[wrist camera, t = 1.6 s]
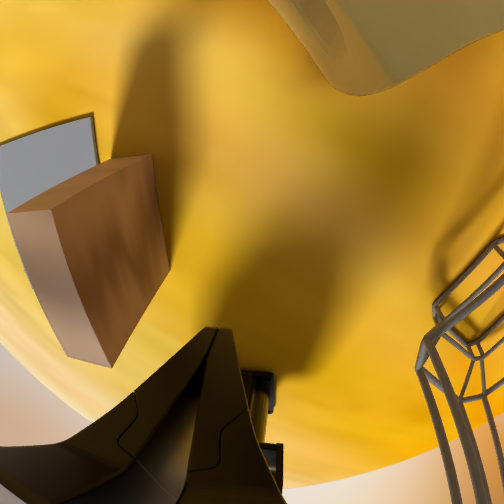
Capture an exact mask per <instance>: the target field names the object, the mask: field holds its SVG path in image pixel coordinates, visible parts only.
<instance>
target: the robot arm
mask: <svg viewBox="0 0 504 504" xmlns="http://www.w3.org/2000/svg"><path fill="white" fill-rule="evenodd" d="M274 382H275V376H274V374H272V373H268V372H252V371H240V366H239V361H238V356H237V352H236V347H235V342H234V337H233V332H232V329H231V328H219V329H218V328H217V327H208V326H207V327H204V328H203V329H202V330H201V331H200V332H199V333H198V334H197V335H196V336H194V337H193V338H192V339H191V340H190V341H189V342H188V343H187V344H186V345H185V346H183V347H182V348H181V349H180V350H179V351H178V352H177V353H176V354H175V355H174V356H172V357H171V358H170V359H169V360H168V361H167V362H166V363H165V364H164V365H162V366H161V367H160V368H159V369H158V370H157V371H156V372H155V373H154V374H152V375H151V376H150V377H149V378H148V379H147V380H146V381H145V382H143V383H142V384H141V385H140V386H139V387H138V388H137V389H136V390H134V392H132V393H131V394H130V395H129V396H127V397H126V398H125V399H124V400H123V401H122V402H120V403H119V404H118V405H117V406H116V407H114V408H113V409H112V410H110V411H109V412H108V413H106V414H105V415H103V416H102V417H101V418H99V419H98V420H96V421H95V422H93V423H92V424H90V425H89V426H87V427H86V428H85V429H83V430H81V431H80V432H78V433H77V434H75V435H74V436H72V437H71V438H69V439H67V440H65V441H62V442H59V443H56V444H48V445H34V446H12V447H1V446H0V504H287V503H286V501H285V500H284V498H283V496H282V488H283V444H282V443H276V444H271V443H264V441H265V432H266V424H267V415H268V414H272V413H273V410H274Z"/></svg>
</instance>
